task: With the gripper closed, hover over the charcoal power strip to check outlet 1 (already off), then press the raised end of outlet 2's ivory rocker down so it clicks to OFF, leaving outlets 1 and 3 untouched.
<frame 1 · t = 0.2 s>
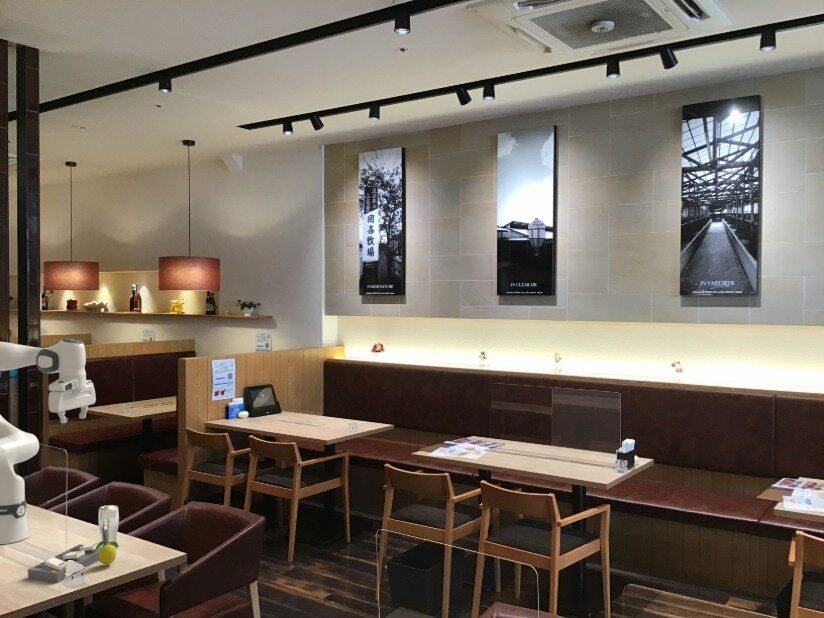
hand: (73, 420, 270), 47 cm above the table, fingers open, 8 cm apart
rocker 2: (73, 554, 254), point 4 cm above the table, hinge at -13.0°
rocker 3: (90, 546, 262), point 4 cm above the table, hinge at -13.0°
beer glass: (109, 548, 273), on the table
lemon: (107, 566, 256), on the table
power strip: (69, 566, 255), on the table
rocker 1: (56, 563, 246), point 4 cm above the table, hinge at 13.0°
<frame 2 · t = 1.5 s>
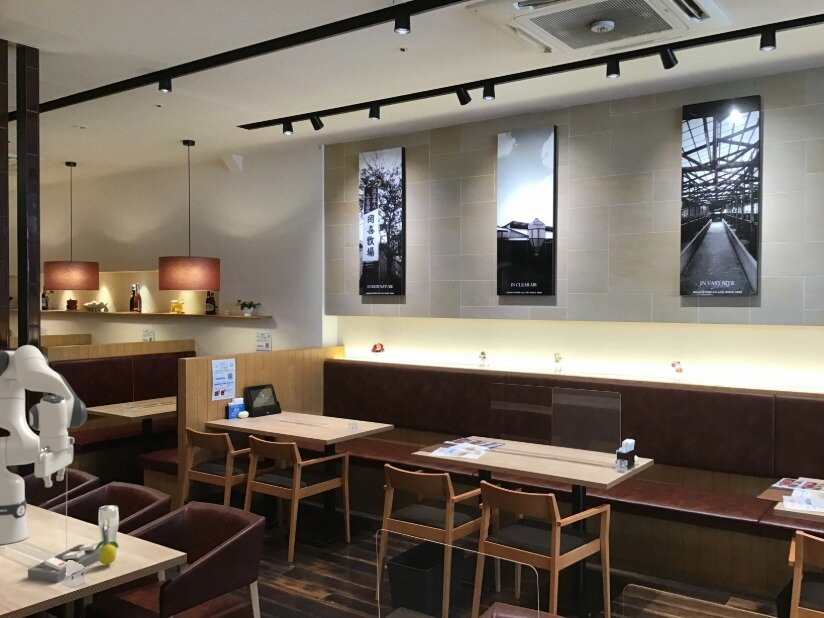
hand: (54, 483, 253), 29 cm above the table, fingers open, 6 cm apart
nothing on the table moved.
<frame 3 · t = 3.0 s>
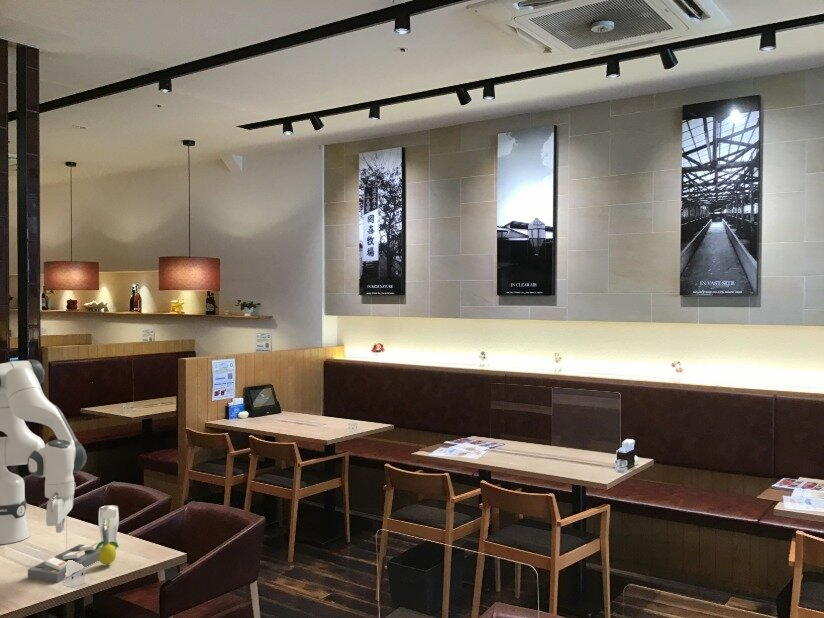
hand: (60, 531, 245), 16 cm above the table, fingers closed
nothing on the table moved.
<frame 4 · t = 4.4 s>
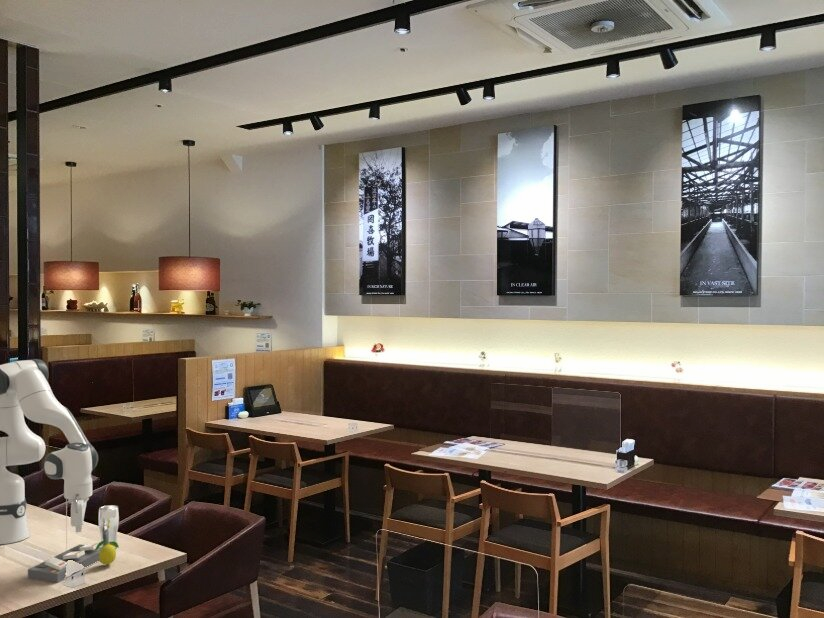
hand: (78, 530, 253), 13 cm above the table, fingers closed
nothing on the table moved.
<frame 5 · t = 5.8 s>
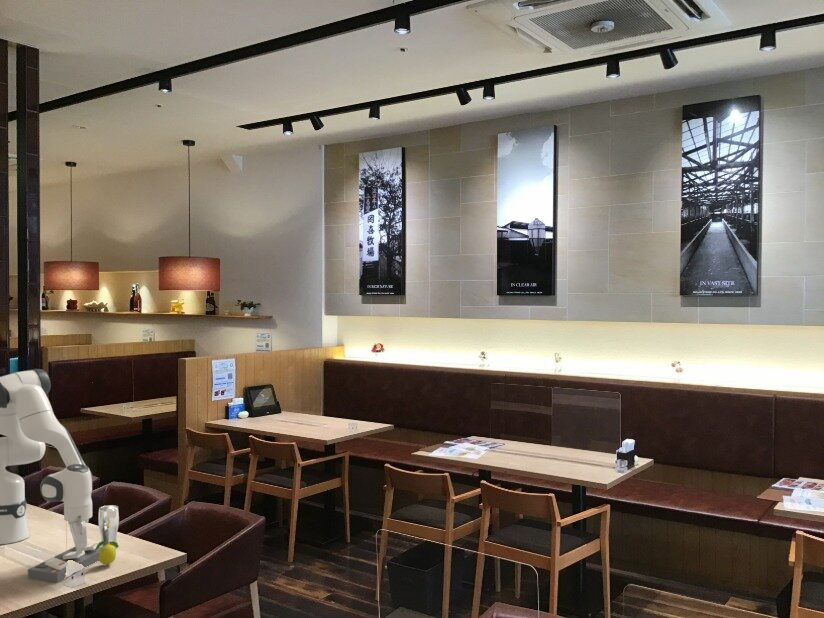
hand: (78, 552, 253), 6 cm above the table, fingers closed, pressing on rocker 2
rocker 2: (73, 554, 254), point 4 cm above the table, hinge at -13.0°, touching gripper
everything else where it was.
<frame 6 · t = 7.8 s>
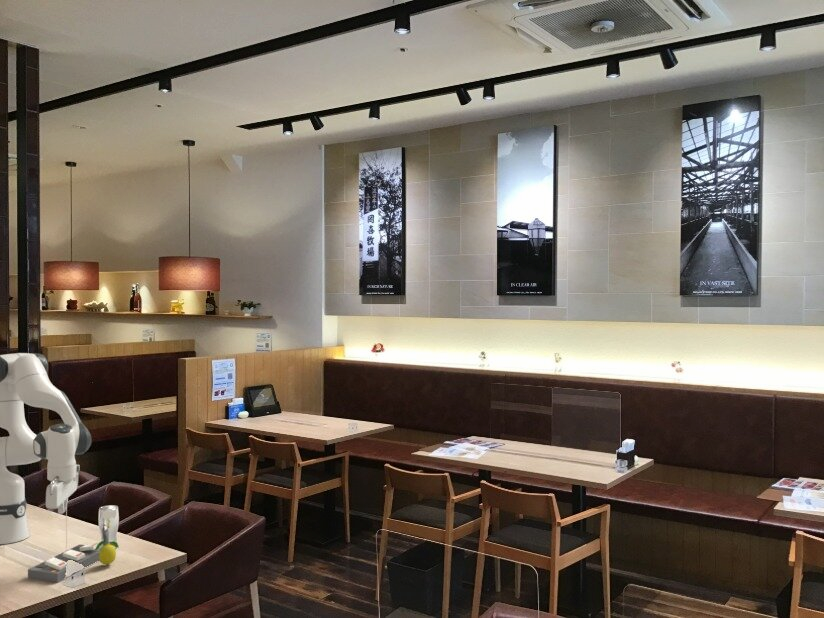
hand: (62, 512, 252), 20 cm above the table, fingers closed
rocker 2: (73, 554, 254), point 4 cm above the table, hinge at 8.1°
everything else where it was.
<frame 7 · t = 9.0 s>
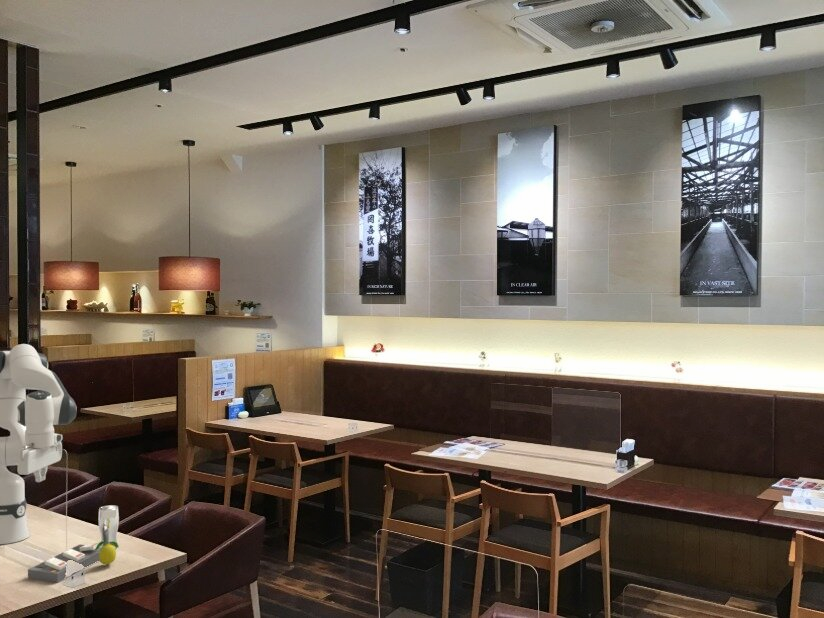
hand: (40, 481, 249), 31 cm above the table, fingers closed
rocker 2: (73, 554, 254), point 4 cm above the table, hinge at 12.9°
everything else where it was.
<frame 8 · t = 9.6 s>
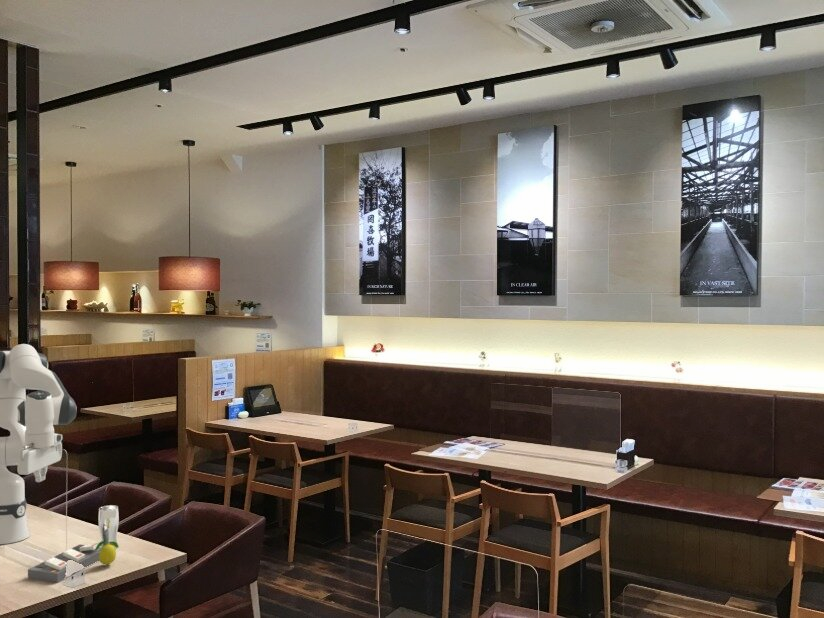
hand: (40, 481, 249), 31 cm above the table, fingers closed
rocker 2: (73, 554, 254), point 4 cm above the table, hinge at 14.6°
everything else where it was.
at the end: rocker 2 at +15° (first picture: -13°); rocker 1 at +13° (first picture: +13°); rocker 3 at -13° (first picture: -13°) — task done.
